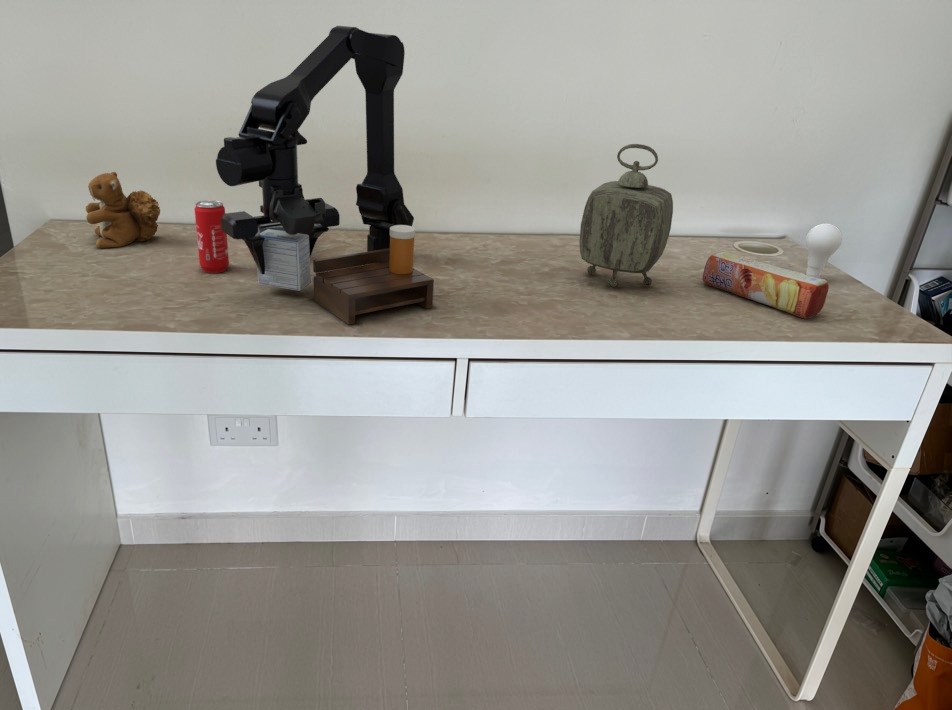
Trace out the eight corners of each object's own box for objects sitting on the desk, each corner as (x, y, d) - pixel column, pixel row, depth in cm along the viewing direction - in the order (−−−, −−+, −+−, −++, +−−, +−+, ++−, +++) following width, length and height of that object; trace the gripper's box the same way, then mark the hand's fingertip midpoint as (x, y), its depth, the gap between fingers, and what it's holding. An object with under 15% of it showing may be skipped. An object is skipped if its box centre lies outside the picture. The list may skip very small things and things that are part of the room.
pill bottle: (404, 265, 132) (406, 223, 128) (418, 272, 129) (420, 230, 125) (383, 268, 130) (384, 226, 126) (397, 276, 127) (398, 233, 123)
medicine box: (311, 283, 132) (310, 234, 127) (300, 292, 128) (298, 241, 124) (270, 277, 134) (267, 228, 130) (257, 285, 130) (254, 235, 126)
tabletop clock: (659, 285, 144) (687, 146, 131) (647, 299, 136) (677, 154, 124) (583, 270, 149) (604, 135, 137) (569, 283, 142) (590, 143, 130)
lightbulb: (828, 277, 152) (846, 222, 146) (829, 287, 147) (847, 230, 141) (795, 272, 154) (811, 217, 148) (794, 281, 149) (811, 225, 144)
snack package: (697, 285, 144) (705, 250, 141) (718, 279, 148) (726, 245, 145) (803, 323, 130) (815, 285, 126) (824, 315, 133) (836, 278, 130)
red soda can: (222, 275, 138) (217, 208, 132) (195, 272, 139) (188, 205, 133) (233, 266, 143) (229, 201, 137) (207, 263, 143) (201, 198, 138)
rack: (394, 285, 137) (395, 247, 134) (432, 307, 129) (434, 267, 125) (313, 300, 129) (312, 260, 126) (348, 324, 121) (348, 282, 117)
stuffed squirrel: (92, 234, 156) (82, 167, 150) (165, 232, 159) (158, 167, 153) (87, 249, 148) (75, 179, 141) (163, 246, 151) (155, 178, 145)
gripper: (244, 193, 112) (250, 294, 119) (356, 181, 121) (355, 276, 128) (216, 177, 120) (223, 273, 127) (323, 167, 129) (324, 257, 136)
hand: (283, 270), depth 130 cm, fingers closed on medicine box, 7 cm apart
